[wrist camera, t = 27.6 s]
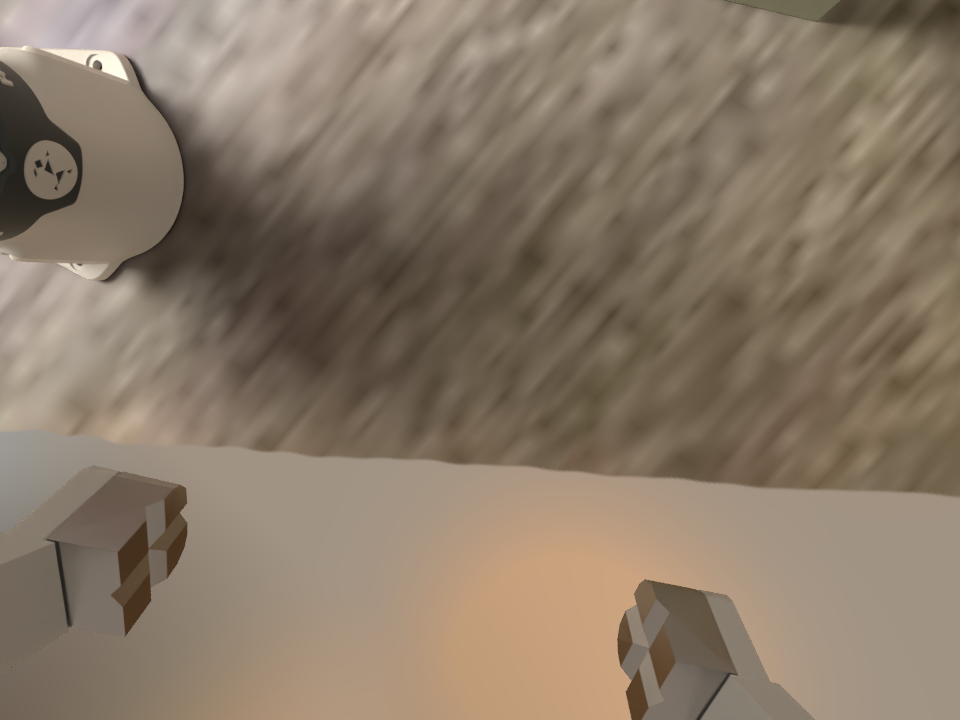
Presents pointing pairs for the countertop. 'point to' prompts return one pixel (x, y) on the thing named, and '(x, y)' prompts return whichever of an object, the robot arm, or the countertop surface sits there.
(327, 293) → the countertop surface
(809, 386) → the countertop surface
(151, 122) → the robot arm
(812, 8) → the sage box
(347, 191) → the countertop surface
